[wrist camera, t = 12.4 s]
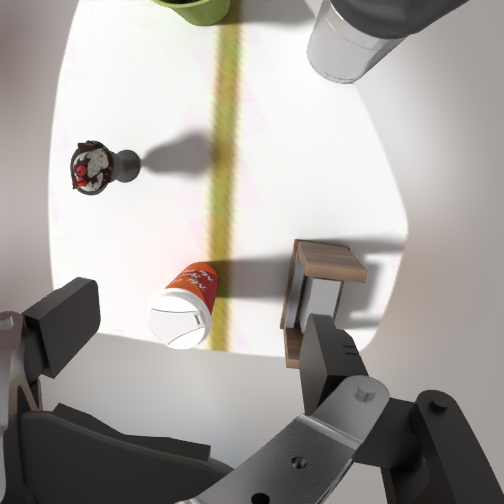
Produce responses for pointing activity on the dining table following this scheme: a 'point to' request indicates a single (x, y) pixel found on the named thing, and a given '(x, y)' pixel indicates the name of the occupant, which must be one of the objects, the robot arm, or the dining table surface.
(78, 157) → the sundae
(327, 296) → the metal block
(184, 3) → the plant pot
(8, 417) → the robot arm
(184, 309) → the paper cup
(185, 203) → the dining table surface
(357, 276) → the wooden holder
